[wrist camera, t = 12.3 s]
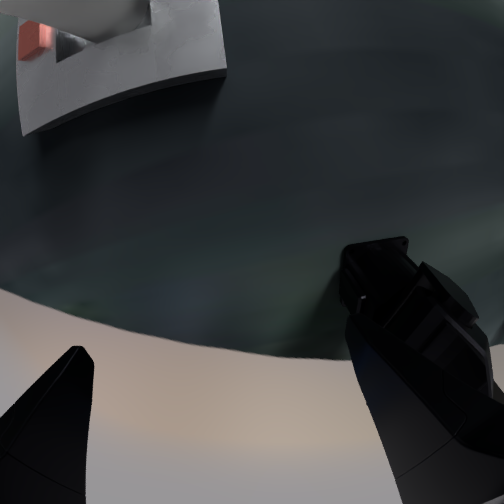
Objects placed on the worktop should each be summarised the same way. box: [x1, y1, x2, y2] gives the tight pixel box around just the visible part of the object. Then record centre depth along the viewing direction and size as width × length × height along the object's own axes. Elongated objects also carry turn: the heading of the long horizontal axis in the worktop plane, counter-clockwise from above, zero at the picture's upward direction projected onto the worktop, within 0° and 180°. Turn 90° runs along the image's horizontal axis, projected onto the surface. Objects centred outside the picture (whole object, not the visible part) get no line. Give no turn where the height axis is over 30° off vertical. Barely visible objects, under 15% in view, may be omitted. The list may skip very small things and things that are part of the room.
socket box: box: [16, 0, 227, 136], centre depth 9 cm, size 14×14×4 cm
